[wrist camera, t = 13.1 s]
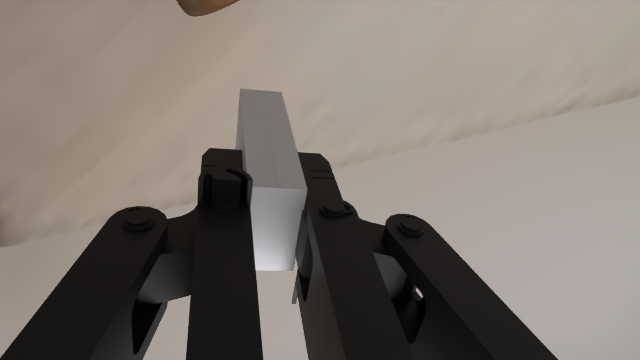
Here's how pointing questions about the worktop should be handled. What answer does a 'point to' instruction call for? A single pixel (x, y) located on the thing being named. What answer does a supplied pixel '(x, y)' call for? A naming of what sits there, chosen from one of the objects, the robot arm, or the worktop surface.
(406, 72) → the worktop surface
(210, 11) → the tin
